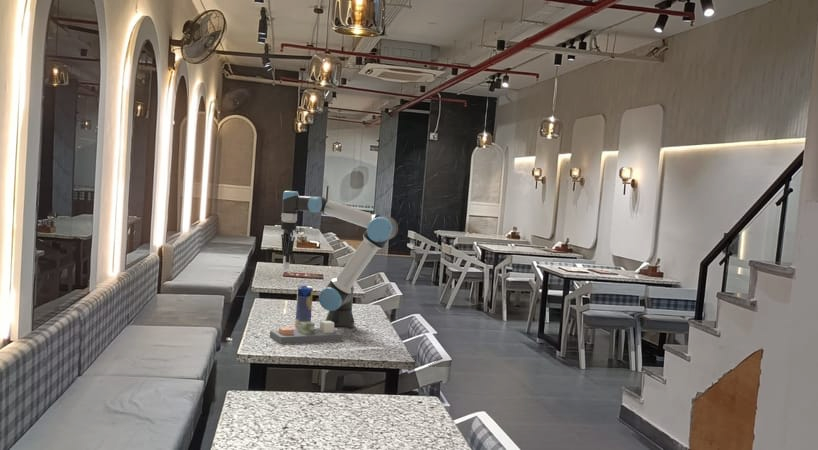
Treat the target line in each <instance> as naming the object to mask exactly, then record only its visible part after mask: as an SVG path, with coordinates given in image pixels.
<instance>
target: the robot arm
mask: <svg viewBox="0 0 818 450" xmlns="http://www.w3.org/2000/svg"><path fill="white" fill-rule="evenodd" d="M281 205H282V208H281V209H282V210H281V215H280V217H281V222H280V224H281V225H280V228H281V230H283V233H282V234H281V235H280V237H281V253H282V254H283V258H282V259H283V260H282V262H283V263H282V269H283V270H289V269H290V259H291V256H292V255H293V249H294V243H295V241H296V236H294V231H296V230H297V223H296V222H298V211H299V212H309V213H310V212H311V213H321V214H325V215H328V216H329V217H334V218H337V219H339V220H341V221H345V222H348V223H351V224H353V225H357V226H360V227H362V228H365V229H366V230H365V232H364V233H363V234H362V236H363V240H362V241H361V242H360V244H359V245H358V247H357V248H356V249H355V251H354V252H353V254H352V256H351V257H350V258H349V260H348V261H347V262H346V264H345V265H344V267H343V268H342V270H341V271H340V273H339V274H338V275H337V277H333V278H331V280H330V281H329V282H328V284H327V286H326V287H324V288H323V289H321V291H320V292H319V295H318V301H319V304H320V306H321V307H322V308H323V309H324V310H326V311H328V312H327V314H326V318H325V320H324V321H332V322H334V329H336V328H339V329H340V328H348V329H353V328H355V319H354V318H355V317H354V313H353V303H354V302H353V301H354V300H353V299H354V288H355V287H354V284H355V282H356V281H357V280H358V278H359V277H360V276H361V274H362V272H363V271H365V269H366V267H367V266H368V264H369V263H371V262H370V261H371V260H372V259H373V258H374V256H375V255H376V253H377V251H379V250H381V249H384V247H385V246H386V244H387V243H388V241H389V240H391V239H393V238H395V237H396V236H397V234H398V231H399V226H398V223H397V220H395V219H394V218H393V217H391V216H387V215H383V214H378V213H376V214H373V213H369V212H367V211H364V210H361V209H358V208H354V207H352V206H349V205H346V204H343V203H340V202H337V201H333V200H331V199H327V198H325V196H321V195H319V196H318V195H317V196H311V195H310V196H307V195H300V194H299V192H298V191H297V190H296V191H294V190H284V191H283V194H282V204H281Z"/></svg>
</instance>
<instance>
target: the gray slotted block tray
mask: <svg viewBox="0 0 818 450" xmlns="http://www.w3.org/2000/svg"><path fill="white" fill-rule="evenodd" d="M293 330H294V332H293V335H281V334H279V329H276V330H274V329H273V330H269V338H270V339H272V340H274V341H275V342H276V343H277V344H279V345H289V344H290V345H291V344H309V343H310V344H311V343H312V344H313V343H327V342H330V343H332V342H343V338H344V337H343V333H341V332H339V331H337V330H335V329H334V333H322V332H320V327H319V328H314V334H302V333H300V329H295V328H294V329H293Z"/></svg>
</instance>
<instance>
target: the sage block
mask: <svg viewBox="0 0 818 450" xmlns="http://www.w3.org/2000/svg"><path fill="white" fill-rule="evenodd" d="M314 329H315V323H314V322H313V321H311V322H310V321H309V322H300V333H302V334H314Z"/></svg>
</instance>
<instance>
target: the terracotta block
mask: <svg viewBox="0 0 818 450" xmlns="http://www.w3.org/2000/svg"><path fill="white" fill-rule="evenodd" d="M278 330H279V334H281V335H293V332H294V329H293V328H291V327H290V326H287V327H279V328H278Z"/></svg>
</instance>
